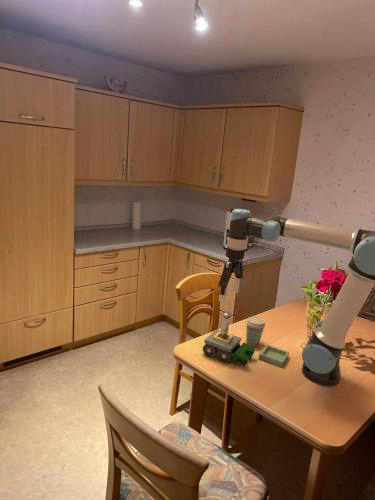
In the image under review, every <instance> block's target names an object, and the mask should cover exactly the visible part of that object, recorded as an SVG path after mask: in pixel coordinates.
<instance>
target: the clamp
mask: <svg viewBox="0 0 375 500" xmlns="http://www.w3.org/2000/svg"><path fill="white" fill-rule="evenodd" d="M255 352H256V348H255V347H252V346H249V345H248V344H247V343H246V341H244V342H243V343H242V344H240V347H239V348H238V349H237V351H236V352H235V353H234V354H233V357H232V359H231V360H230V361H229V362H230V363H231V364H232V365H234V366H235V365H236V364H237V363H239V364H240V365H242V366H243V367H246V366H247V365H248V362H251V359H252V357H253V356H254V354H255Z"/></svg>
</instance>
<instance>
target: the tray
mask: <svg viewBox="0 0 375 500" xmlns="http://www.w3.org/2000/svg"><path fill="white" fill-rule="evenodd" d="M289 356H290V351H287V350H284V349H281V348H278V347H276V346H272V345H269V344H266V345H265V346H264V347H263V348H262V350H261V351H260V353H259V355H258V360H260V361H263V362H265V363H268V364H270V365H274V366H276V367H279V368H283V367H284V365H285V363H286V362H287V360H288V359H289Z"/></svg>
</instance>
